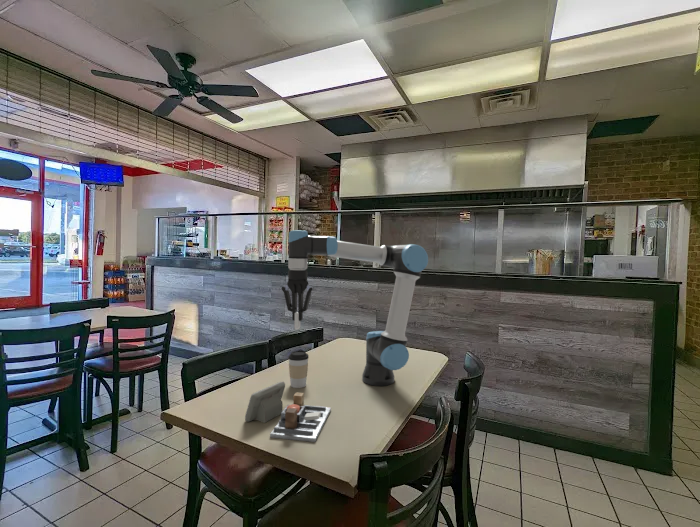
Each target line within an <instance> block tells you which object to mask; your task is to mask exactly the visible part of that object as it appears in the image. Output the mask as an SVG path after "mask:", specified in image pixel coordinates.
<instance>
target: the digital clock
mask: <svg viewBox="0 0 700 527" xmlns="http://www.w3.org/2000/svg"><path fill="white" fill-rule="evenodd" d="M285 388H286V383H285V382H284V381H279V382H277V383H274V384H272V385H270V386H267V387H264V388H262V389H259V390H258V391H256V392H253V393H252V394H251V395H250V399H249V402H248V405H247V409H246V412H245V416H244V421H245V422H252V421H254V420H256V421H259V422H261V423H267V422H269V421H271V420H272V419H275V418H277V417H278V416H281V412H282V411H283V410H284V409H283V401H282V398H283V394H284V391H285Z"/></svg>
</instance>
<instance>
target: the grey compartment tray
mask: <svg viewBox="0 0 700 527" xmlns="http://www.w3.org/2000/svg"><path fill="white" fill-rule="evenodd" d="M289 405H290V404H287V405H286V406H285V407H284V409H282V412H281V414H280V419H279V421H278V422H277V424H276V425H275V426H274V427H273V429H272V431H271V432H270V433H269V435H270V436H269V437H270V438H273V439H274V438H275V439H281V440H282V439H283V440H291V441H293V440H294V441H300V442H312V443H316V441H317V440H318V438H319V435H320V434H321V432H322V430H323V427H324V425H325V424H326V421H327V419H328V417H329V415H330V413H331V411H332V408H331V407H327V406H322V405H321V406H320V405H308V404H304V406H300V411H299V413H297V427H296V428H295V429H294V428H285V412H286V411H287V406H289ZM314 412H320V413H321V416H320V418H319V419H317V420H305V419H304V417H305V415H306V414H307V413H314Z"/></svg>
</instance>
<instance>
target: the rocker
mask: <svg viewBox="0 0 700 527" xmlns="http://www.w3.org/2000/svg"><path fill="white" fill-rule="evenodd" d="M320 416H321V413H320V412H314V413H307V414H306V415H305V417H304V419H305V420H317V419H319V418H320Z"/></svg>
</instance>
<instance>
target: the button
mask: <svg viewBox="0 0 700 527" xmlns="http://www.w3.org/2000/svg"><path fill="white" fill-rule="evenodd" d="M288 405H289V406H287V405H286V406H287V409H288V408H294V409H297V413H299V411H300V406H299V405H296V404H293V403H292V404H288Z"/></svg>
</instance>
